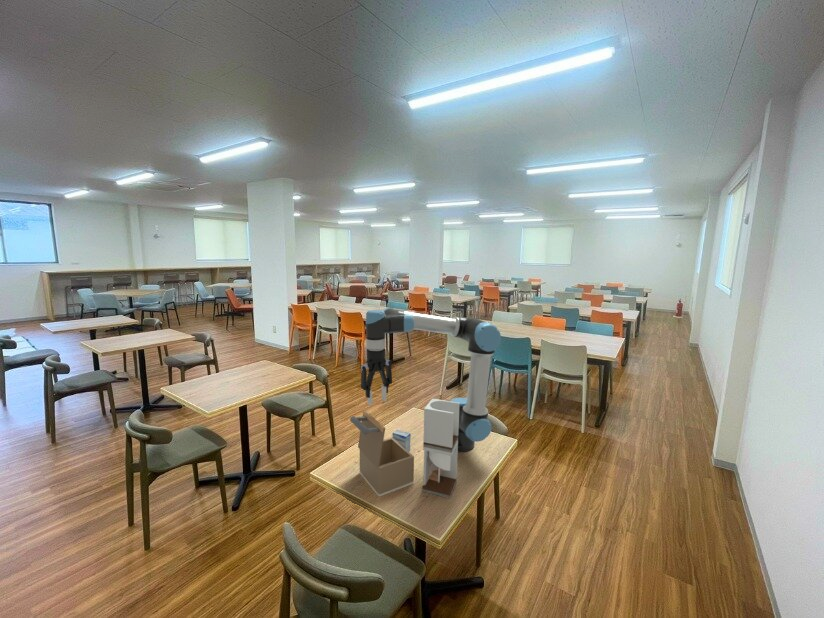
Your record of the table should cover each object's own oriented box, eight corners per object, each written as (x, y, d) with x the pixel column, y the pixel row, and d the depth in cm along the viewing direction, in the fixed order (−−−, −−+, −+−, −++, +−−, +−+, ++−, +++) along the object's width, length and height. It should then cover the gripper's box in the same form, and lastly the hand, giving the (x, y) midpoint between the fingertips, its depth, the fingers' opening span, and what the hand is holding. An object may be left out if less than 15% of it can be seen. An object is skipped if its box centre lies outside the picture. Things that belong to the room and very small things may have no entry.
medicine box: (391, 449, 174) (392, 432, 173) (396, 445, 178) (396, 429, 177) (406, 454, 170) (406, 437, 169) (410, 449, 174) (410, 432, 173)
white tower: (422, 491, 144) (424, 408, 138) (430, 476, 154) (432, 398, 148) (450, 498, 140) (453, 413, 135) (456, 482, 150) (459, 402, 144)
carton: (392, 462, 164) (392, 437, 162) (413, 483, 149) (414, 456, 147) (359, 473, 155) (359, 447, 153) (378, 496, 140) (379, 468, 138)
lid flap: (379, 468, 138) (360, 471, 134) (359, 446, 153) (342, 449, 149) (385, 428, 137) (367, 429, 133) (365, 410, 152) (348, 411, 148)
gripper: (391, 343, 153) (392, 394, 157) (350, 350, 143) (352, 405, 147) (400, 346, 147) (401, 400, 151) (358, 354, 137) (360, 411, 140)
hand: (377, 402), depth 149 cm, fingers open, 6 cm apart
